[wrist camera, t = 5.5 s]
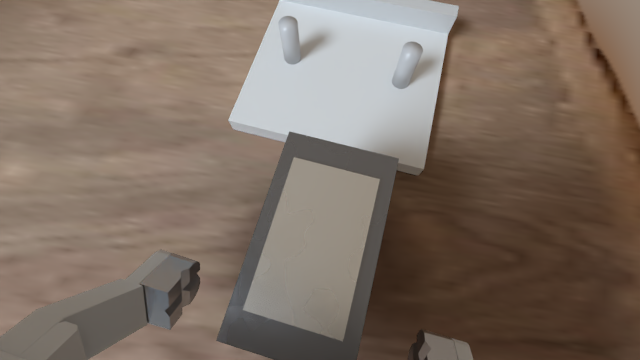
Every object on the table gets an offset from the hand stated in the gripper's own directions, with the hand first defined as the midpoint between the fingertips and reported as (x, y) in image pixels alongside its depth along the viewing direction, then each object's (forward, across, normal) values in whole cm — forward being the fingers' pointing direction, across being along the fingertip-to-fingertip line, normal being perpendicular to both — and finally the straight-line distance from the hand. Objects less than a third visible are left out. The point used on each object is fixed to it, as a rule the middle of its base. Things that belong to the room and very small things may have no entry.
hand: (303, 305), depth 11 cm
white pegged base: (+16, +2, -6) cm, 17 cm away
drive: (+6, 0, +4) cm, 7 cm away
